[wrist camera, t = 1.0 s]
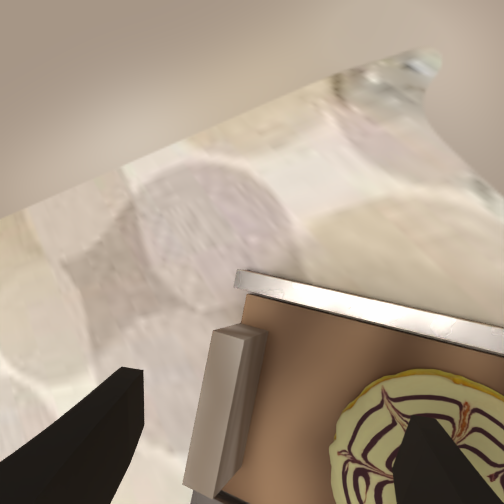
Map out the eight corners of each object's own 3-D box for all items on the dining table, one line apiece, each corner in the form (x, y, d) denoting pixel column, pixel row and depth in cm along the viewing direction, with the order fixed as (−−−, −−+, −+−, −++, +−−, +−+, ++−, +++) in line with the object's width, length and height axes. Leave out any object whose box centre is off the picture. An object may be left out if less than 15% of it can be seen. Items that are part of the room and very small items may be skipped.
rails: (570, 679, 18) (583, 711, 17) (201, 494, 26) (190, 506, 25) (636, 357, 18) (655, 363, 17) (246, 269, 26) (237, 269, 25)
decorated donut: (316, 503, 23) (301, 543, 20) (363, 337, 23) (356, 348, 20) (509, 605, 20) (533, 676, 16) (569, 407, 19) (606, 436, 16)
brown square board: (574, 374, 19) (623, 401, 15) (522, 626, 19) (556, 725, 15) (250, 293, 26) (219, 296, 22) (213, 479, 26) (175, 518, 22)
